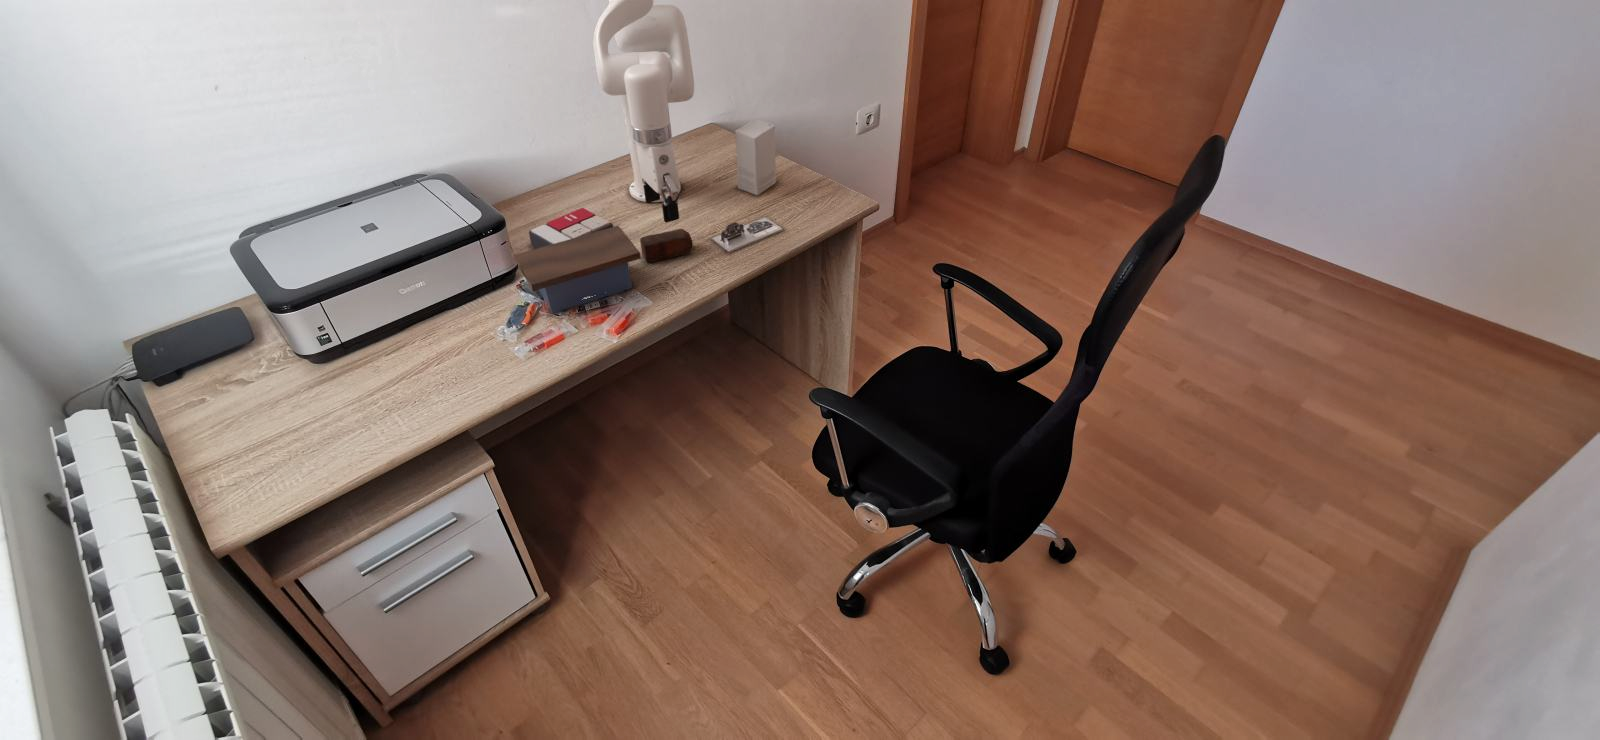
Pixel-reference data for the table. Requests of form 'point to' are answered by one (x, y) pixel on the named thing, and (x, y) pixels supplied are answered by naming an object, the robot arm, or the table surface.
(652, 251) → the brick
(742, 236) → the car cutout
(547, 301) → the blue box
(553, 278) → the board
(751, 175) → the cosmetic box
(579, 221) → the button pad
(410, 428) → the table surface
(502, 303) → the table surface
